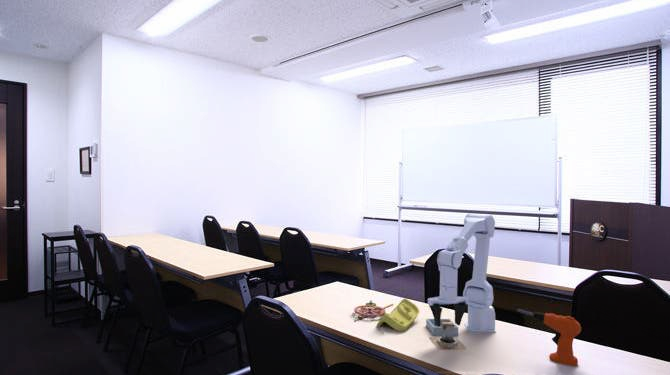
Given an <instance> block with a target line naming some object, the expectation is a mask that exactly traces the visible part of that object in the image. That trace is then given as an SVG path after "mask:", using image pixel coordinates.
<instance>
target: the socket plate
mask: <svg viewBox="0 0 670 375" xmlns="http://www.w3.org/2000/svg"><path fill="white" fill-rule="evenodd" d="M428 339H429V340H430V341H431V343H432V344H433V345H434V346H435V348H436V349H437V350H464V351H465V350H468V349H467V347H466V346H465V345H464V344H463V343H462V341H460V340H459V338H457V337H454V342H453V343H445V342H442V341H441V336H439V337H436V336H430V337H428Z"/></svg>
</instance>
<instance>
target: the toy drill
mask: <svg viewBox="0 0 670 375" xmlns="http://www.w3.org/2000/svg"><path fill="white" fill-rule="evenodd" d="M516 311H517V312H519V313H522V314H524V315H527V316H530V317H532V318H533V320H536V321H539V322H542V323H543V325H544V324H545V325H546V326H547V327H550V328H551V329H552V330H554V331H556V333H555V335H554V336H553V337H552V338H551V341H553V343H554V344H556V346H557V347H556V351H555V352H550V354H549V356H548V358H549V360H550V361H551V362H554V363H557V364H560V365H565V366H569V367H570V366H571V367H578V365H579V362H578V358H577V356H575V355H574V351H573V349H574V348H573V342H574V338H575V337H577V336H579V334H580V333H581V332H582V327H581V324H580V322H578V321H577V320H576V319H575V318H574V317H572V316H569V315H566V316H563V315H560V314H559V315H557V314H555V313H547V312H545V313H543V312H539V311H534V312H531V311H527V310H525V309H521V308H518V309H516Z"/></svg>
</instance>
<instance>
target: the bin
mask: <svg viewBox="0 0 670 375" xmlns="http://www.w3.org/2000/svg"><path fill="white" fill-rule="evenodd" d="M425 319H426V321H425V322H426V323H425V324H426V325H425V326H426V327H427V329H428V330H429V332H430V333H431V334H432V335H433V336H441V335H442V322H453V320H451V318H441V320H440V327H438V326H436V325H435V320H434V318H425ZM454 336H459V327H458V325H457V324H455V323H454Z"/></svg>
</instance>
